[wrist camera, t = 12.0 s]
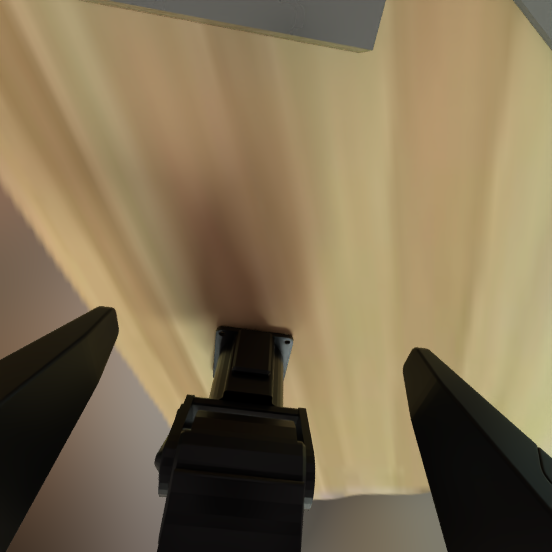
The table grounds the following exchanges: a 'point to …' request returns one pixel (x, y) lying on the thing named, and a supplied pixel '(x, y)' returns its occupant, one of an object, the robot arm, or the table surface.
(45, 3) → the table surface
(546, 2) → the mat
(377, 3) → the flange plate
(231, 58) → the table surface
